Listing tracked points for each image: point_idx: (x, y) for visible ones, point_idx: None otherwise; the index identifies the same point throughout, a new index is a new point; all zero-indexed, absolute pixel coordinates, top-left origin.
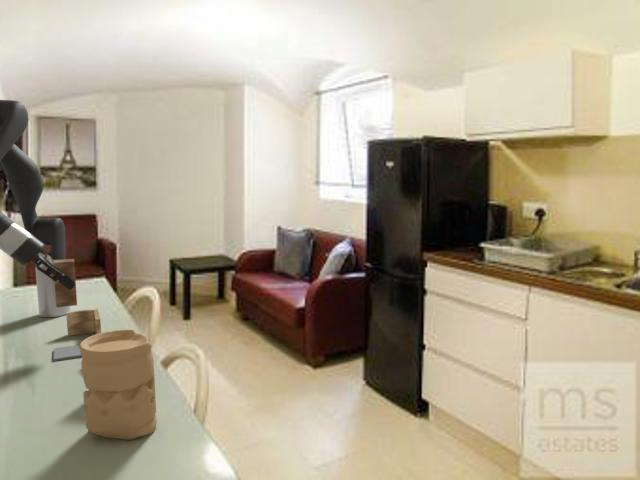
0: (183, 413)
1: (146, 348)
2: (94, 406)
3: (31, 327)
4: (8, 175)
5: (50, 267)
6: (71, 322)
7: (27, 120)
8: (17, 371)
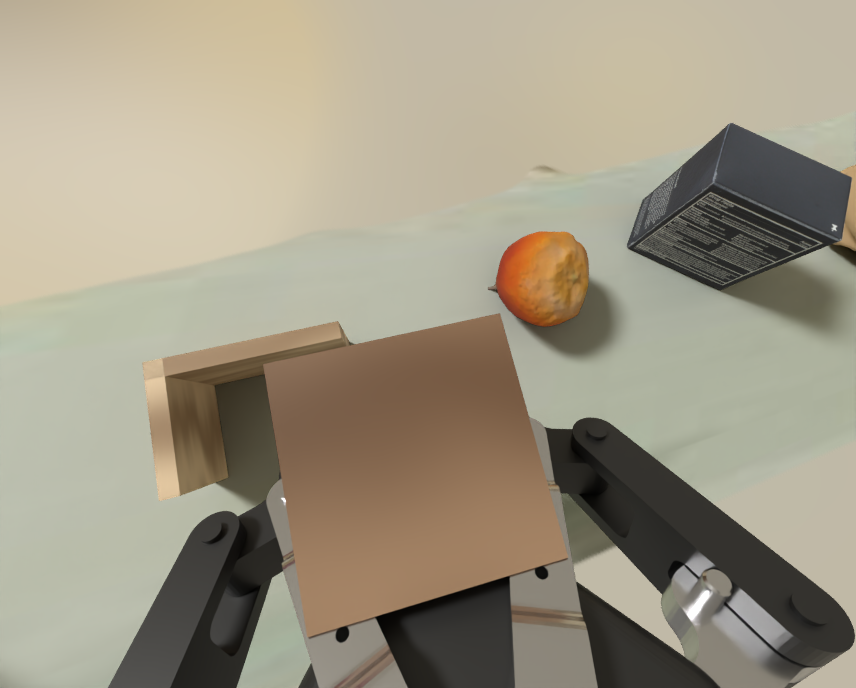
0: (806, 132)
1: None
2: None
3: (37, 682)
4: None
5: (729, 525)
6: (202, 468)
7: None
8: None
